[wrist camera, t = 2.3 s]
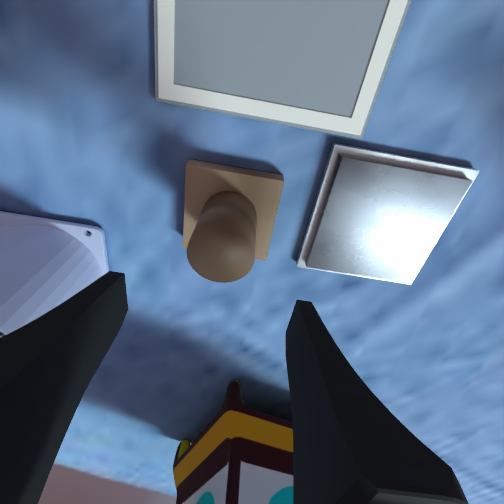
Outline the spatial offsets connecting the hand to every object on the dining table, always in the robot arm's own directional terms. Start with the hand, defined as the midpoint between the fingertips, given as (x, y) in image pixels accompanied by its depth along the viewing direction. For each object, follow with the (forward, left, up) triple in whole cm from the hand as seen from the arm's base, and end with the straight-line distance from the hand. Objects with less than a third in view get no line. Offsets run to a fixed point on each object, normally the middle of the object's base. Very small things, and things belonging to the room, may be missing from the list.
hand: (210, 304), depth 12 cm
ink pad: (+10, +1, -10) cm, 14 cm away
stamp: (0, 0, -10) cm, 10 cm away
